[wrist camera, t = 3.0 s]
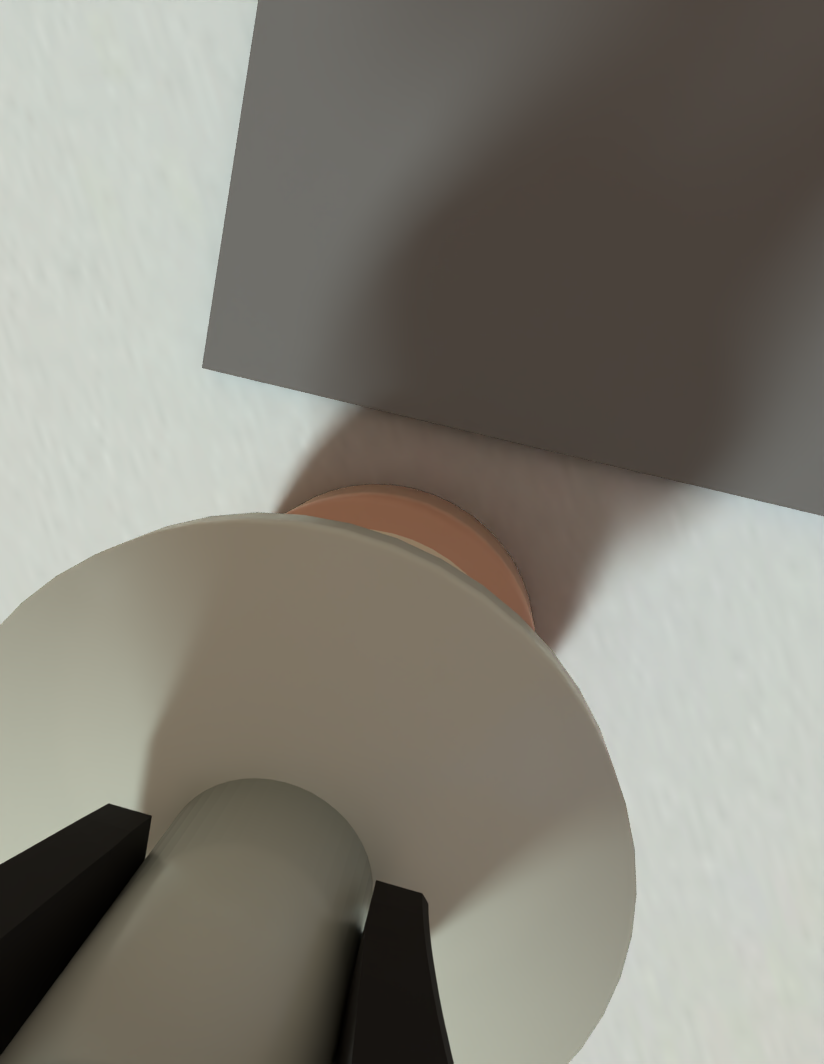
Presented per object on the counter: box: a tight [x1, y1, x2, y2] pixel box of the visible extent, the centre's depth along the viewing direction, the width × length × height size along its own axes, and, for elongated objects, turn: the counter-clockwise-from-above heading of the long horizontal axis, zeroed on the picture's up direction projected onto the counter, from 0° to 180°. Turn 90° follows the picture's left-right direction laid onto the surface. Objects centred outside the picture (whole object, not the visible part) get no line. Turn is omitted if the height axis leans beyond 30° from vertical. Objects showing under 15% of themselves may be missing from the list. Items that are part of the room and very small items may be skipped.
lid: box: [0, 512, 636, 1064], centre depth 8 cm, size 10×10×5 cm
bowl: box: [285, 484, 536, 633], centre depth 18 cm, size 8×8×3 cm
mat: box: [202, 0, 824, 516], centre depth 16 cm, size 18×12×1 cm, turn 77°
